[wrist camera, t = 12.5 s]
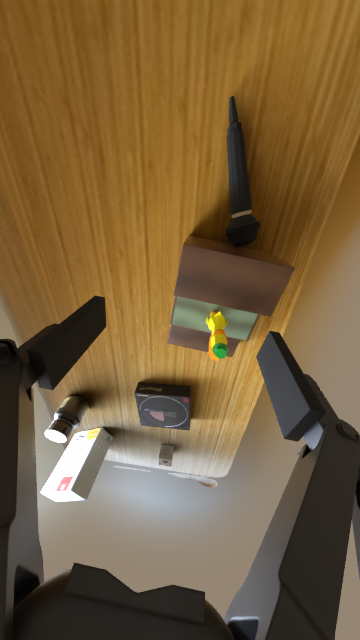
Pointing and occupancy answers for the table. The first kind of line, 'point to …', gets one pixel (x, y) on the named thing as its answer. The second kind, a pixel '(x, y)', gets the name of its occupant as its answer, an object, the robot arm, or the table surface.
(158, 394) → the portable cd player
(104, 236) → the table surface
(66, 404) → the ink bottle
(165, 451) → the dice cube
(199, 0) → the table surface
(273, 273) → the display shelf
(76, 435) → the hard drive box
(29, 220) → the table surface
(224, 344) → the toy figure
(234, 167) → the microphone
